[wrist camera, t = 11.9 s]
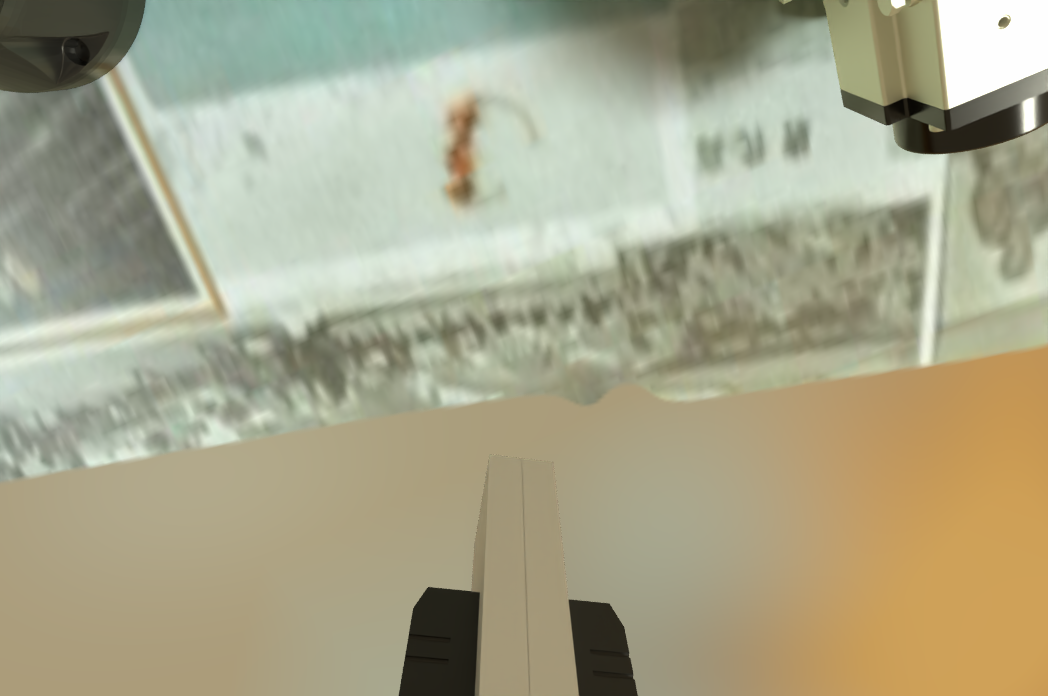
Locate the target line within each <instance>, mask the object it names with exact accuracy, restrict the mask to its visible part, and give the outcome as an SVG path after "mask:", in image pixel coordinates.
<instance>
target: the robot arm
mask: <svg viewBox="0 0 1048 696" xmlns="http://www.w3.org/2000/svg"><path fill="white" fill-rule="evenodd" d="M145 1H146V0H0V90H3V91H11V92H20V93H39V92H49V91H58V90H67V89H72V88H76V87H80V86H83V85H86V84H88V83H91V82H93V81H95V80H97V79H99V78H100V77H102V76H103V75H105V74H107V73H108V72H109V71H110V70H112V69H113V68H114V67H115V66H116V65H117V64H118V63H119V62H120V61H121V60H122V58H123V57H124V56H125V55H126V53H127V52H128V50H129V49H130V47H131V45H132V44H133V42H134V40H135V38H136V36H137V33H138V31H139V28H140V25H141V22H142V18H143V14H144V8H145ZM399 696H638V695H637V691H636V685H635V680H634V679H633V670H632V664H631V660H630V658H629V650H628V645H627V640H626V634H625V629H624V626H623V625H622V623H621V621H620V620H619V618H618V617H617V615H616V613H615V612H614V610H613V609H612V607H611V606H610V604H608V603H598V602H588V601H578V600H568V591H567V582H566V573H565V564H564V555H563V545H562V536H561V527H560V517H559V508H558V500H557V491H556V481H555V472H554V463H553V462H550V461H541V460H533V459H525V458H517V457H508V456H499V455H492V454H490V455H489V461H488V467H487V473H486V479H485V485H484V491H483V496H482V502H481V508H480V514H479V520H478V526H477V532H476V538H475V544H474V560H473V574H472V589H471V591H462V590H452V589H442V588H432V587H428V588H427V589H426V591H425V592H424V593H423V595H422V596H421V598H420V599H419V601H418V602H417V604H416V605H415V606H414V608H413V613H412V619H411V625H410V631H409V638H408V644H407V650H406V655H405V661H404V667H403V673H402V679H401V685H400V691H399Z"/></svg>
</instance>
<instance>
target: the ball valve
mask: <svg viewBox="0 0 1048 696" xmlns="http://www.w3.org/2000/svg"><path fill="white" fill-rule="evenodd" d="M779 1H780V2H781V3H783V4H785V3H787V2H790V1H792V0H779ZM823 4H824V7H825V10H826V15H827V20H828V26H829V31H830V36H831V42H832V47H833V52H834V58H835V63H836V68H837V74H838V79H839V84H840V89H841V95H842V100H843V105H844V107H846V108H848V109H850V110H853V111H855V112H857V113H859V114H862V115H864V116H866V117H868V118H871V119H873V120H875V121H878V122H880V123H882V124H884V125H891V124H892V125H893V132H894V139H895V142H896V143H897V145H898V146H899V147H901V148H902V149H904V150H907V151H910V152H914V153H920V154H948V153H958V152H965V151H971V150H976V149H981V148H985V147H989V146H993V145H997V144H1000V143H1003V142H1006V141H1009V140H1012V139H1015V138H1018V137H1020V136H1023V135H1025V134H1028V133H1030V132H1032V131H1034V130H1036V129H1038V128H1040V127H1042V126H1044V125H1045V124H1047V123H1048V0H823Z"/></svg>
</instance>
